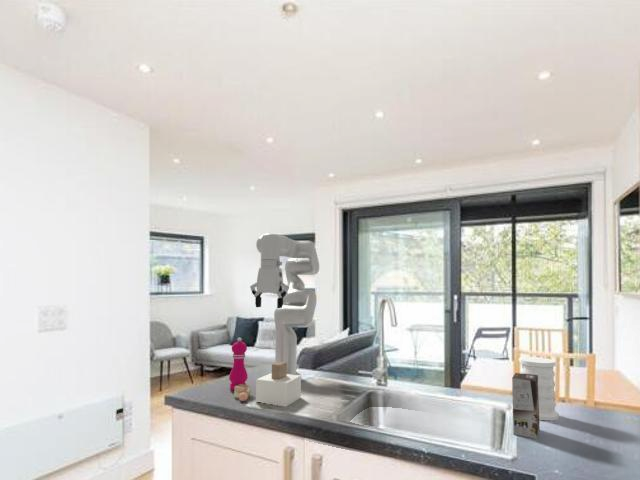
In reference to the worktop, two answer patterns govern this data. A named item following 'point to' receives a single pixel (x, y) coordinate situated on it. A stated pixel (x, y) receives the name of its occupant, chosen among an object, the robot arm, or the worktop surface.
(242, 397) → the terracotta ball
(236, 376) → the pepper mill
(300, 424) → the worktop surface
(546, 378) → the decorative container
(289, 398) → the cover
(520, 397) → the coffee box
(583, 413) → the worktop surface
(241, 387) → the pine cube
